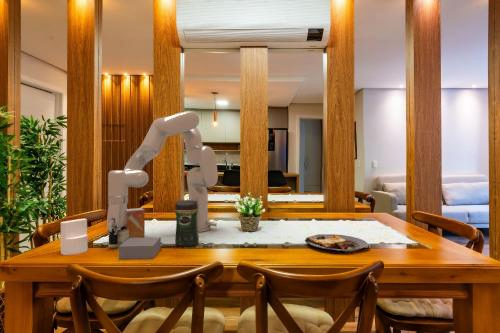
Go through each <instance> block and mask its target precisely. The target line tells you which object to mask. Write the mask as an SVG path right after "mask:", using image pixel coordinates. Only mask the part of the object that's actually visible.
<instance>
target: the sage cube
mask: <svg viewBox="0 0 500 333" xmlns="http://www.w3.org/2000/svg"><path fill="white" fill-rule="evenodd" d="M114 231H115V229H114ZM117 234H118V244H116V245H110V244H109V243H108V248H119V246H120V245H121V244H123V243H124V242H125V241H126V240H128V239H129V230H119V229H118V231H117Z"/></svg>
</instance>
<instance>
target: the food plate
mask: <svg viewBox="0 0 500 333" xmlns="http://www.w3.org/2000/svg"><path fill="white" fill-rule="evenodd" d="M304 242H305V243H306V244H308V245H310V246H312V247H314V248H318V249H319V248H320V249H324V250H326V251H327V250H328V251H335V252H336V251H337V252H340V251H341V252H346V253H347V252H348V253H351V252H353V253H355V252H356V251H358V250H362V249H364V248H368V247H369V244H368V242H367V241H365V240H363V239H361V238H359V237H354V236H351V235H344V234H334V233H332V234H329V233H328V234H327V233H325V234H324V233H320V234H315V235H311V236H307V237H306V238H305V240H304ZM352 247H354V248H352Z"/></svg>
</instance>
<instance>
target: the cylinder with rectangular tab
mask: <svg viewBox="0 0 500 333" xmlns="http://www.w3.org/2000/svg"><path fill="white" fill-rule="evenodd" d="M87 251H88V219H87V218H78V219H72V220H66V221H60V254H61V255H64V256H73V255H74V256H75V255H79V254H84V253H86V252H87Z"/></svg>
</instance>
